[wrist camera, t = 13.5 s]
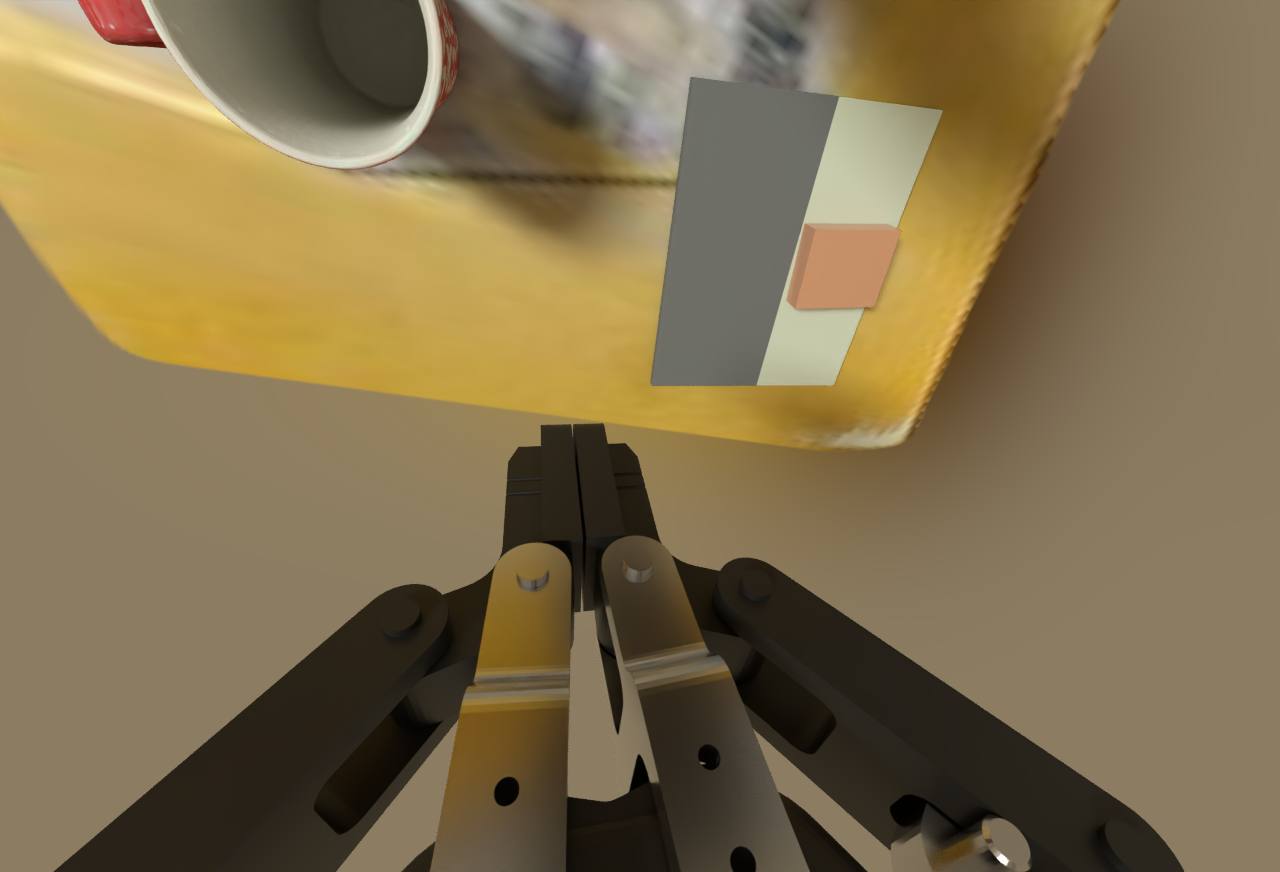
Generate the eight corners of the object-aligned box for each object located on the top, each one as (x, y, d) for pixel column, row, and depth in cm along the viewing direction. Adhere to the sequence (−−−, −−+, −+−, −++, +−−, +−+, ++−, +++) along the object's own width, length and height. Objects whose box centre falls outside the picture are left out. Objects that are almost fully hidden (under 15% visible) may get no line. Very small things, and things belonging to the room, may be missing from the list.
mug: (465, -69, 24) (413, -173, 14) (486, 138, 30) (460, 176, 19) (180, -110, 22) (-144, -272, 12) (259, 123, 27) (88, 157, 17)
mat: (690, 77, 30) (693, 77, 29) (937, 109, 33) (943, 110, 33) (650, 382, 43) (651, 385, 42) (830, 382, 46) (833, 385, 46)
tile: (815, 229, 34) (902, 230, 36) (804, 223, 36) (887, 223, 37) (795, 309, 38) (874, 307, 39) (785, 300, 39) (862, 298, 41)
